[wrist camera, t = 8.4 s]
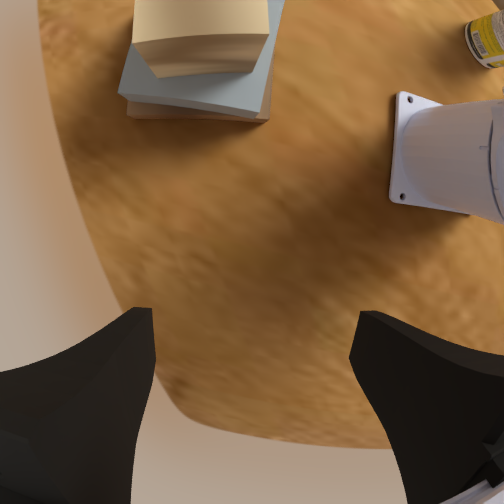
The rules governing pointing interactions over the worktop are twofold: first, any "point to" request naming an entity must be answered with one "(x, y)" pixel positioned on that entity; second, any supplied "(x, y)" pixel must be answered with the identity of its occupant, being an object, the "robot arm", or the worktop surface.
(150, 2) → the oak block
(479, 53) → the supplement bottle
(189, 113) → the walnut slab
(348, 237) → the worktop surface
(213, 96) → the slate slab
